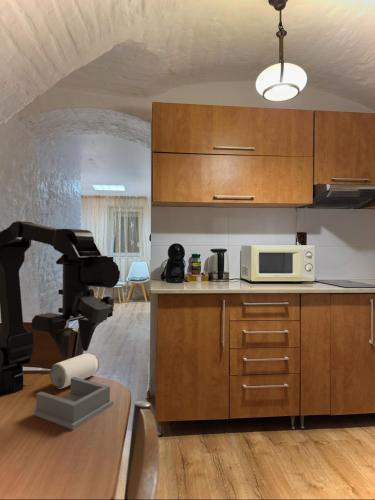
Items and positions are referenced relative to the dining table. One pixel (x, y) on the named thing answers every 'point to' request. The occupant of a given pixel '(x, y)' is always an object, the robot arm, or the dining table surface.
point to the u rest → (74, 403)
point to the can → (73, 369)
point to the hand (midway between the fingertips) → (75, 354)
